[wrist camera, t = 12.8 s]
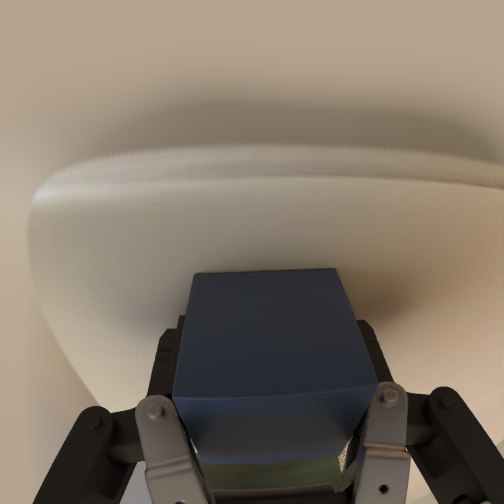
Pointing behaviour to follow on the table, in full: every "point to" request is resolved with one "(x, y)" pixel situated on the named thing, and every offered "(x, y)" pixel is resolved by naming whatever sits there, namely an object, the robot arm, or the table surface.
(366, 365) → the block
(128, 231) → the table surface
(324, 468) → the drawer
